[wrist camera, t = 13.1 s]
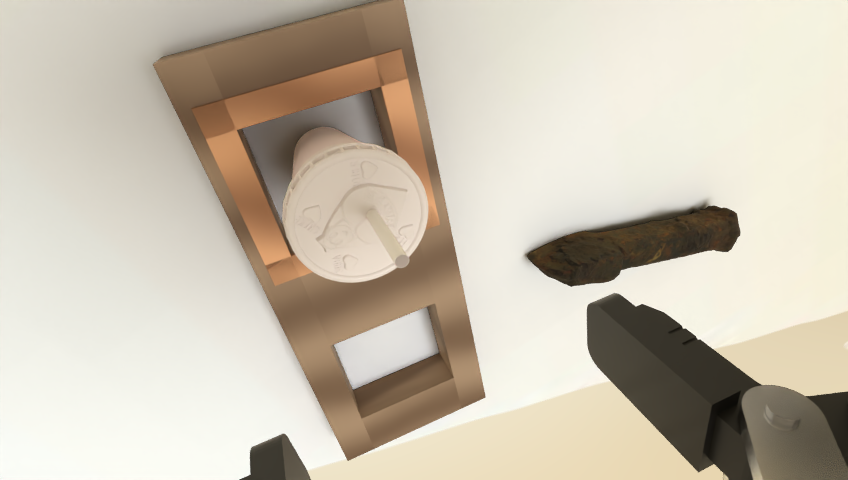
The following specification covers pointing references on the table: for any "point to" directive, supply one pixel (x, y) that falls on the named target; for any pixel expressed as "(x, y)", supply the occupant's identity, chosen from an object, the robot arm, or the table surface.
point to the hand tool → (635, 246)
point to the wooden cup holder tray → (264, 233)
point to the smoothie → (352, 207)
